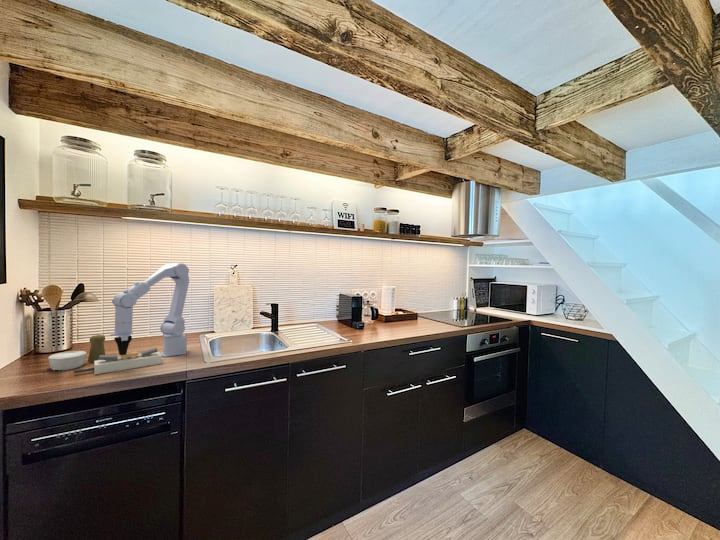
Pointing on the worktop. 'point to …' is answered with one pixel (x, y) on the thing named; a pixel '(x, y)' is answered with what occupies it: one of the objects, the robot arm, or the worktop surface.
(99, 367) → the rocker switch panel
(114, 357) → the block
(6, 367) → the worktop surface
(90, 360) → the olive-brown rounded piece
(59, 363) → the ramekin
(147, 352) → the block
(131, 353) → the rocker middle
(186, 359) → the worktop surface
